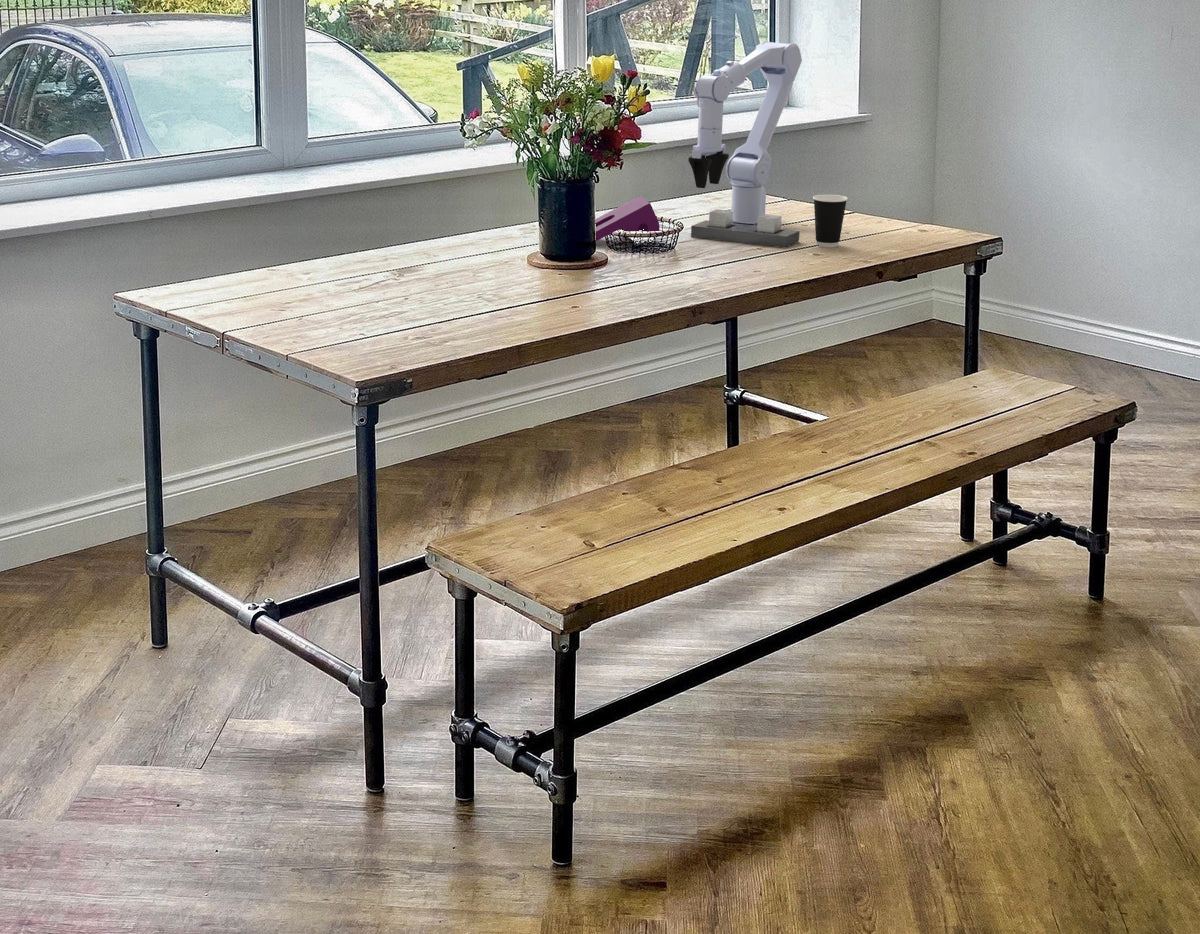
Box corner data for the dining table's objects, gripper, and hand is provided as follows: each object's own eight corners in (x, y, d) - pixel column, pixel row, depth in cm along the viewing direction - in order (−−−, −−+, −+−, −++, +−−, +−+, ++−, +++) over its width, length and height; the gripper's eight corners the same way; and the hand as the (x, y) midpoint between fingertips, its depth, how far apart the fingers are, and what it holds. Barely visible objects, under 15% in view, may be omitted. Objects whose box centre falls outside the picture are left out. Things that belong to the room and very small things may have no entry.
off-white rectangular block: (763, 239, 336) (764, 214, 334) (780, 241, 334) (781, 216, 332) (756, 242, 333) (757, 217, 330) (773, 244, 331) (774, 219, 328)
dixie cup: (851, 246, 330) (855, 198, 326) (826, 250, 325) (829, 201, 322) (828, 240, 336) (831, 193, 332) (802, 243, 332) (805, 196, 328)
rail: (705, 231, 345) (705, 220, 344) (798, 241, 334) (799, 230, 333) (691, 236, 338) (691, 225, 337) (785, 247, 327) (786, 236, 326)
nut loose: (715, 234, 341) (716, 209, 339) (732, 236, 340) (733, 210, 338) (708, 237, 338) (709, 212, 336) (724, 239, 336) (725, 213, 334)
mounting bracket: (596, 271, 330) (664, 235, 331) (580, 239, 326) (650, 202, 327) (587, 262, 338) (654, 227, 339) (571, 231, 335) (639, 195, 336)
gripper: (707, 123, 347) (705, 180, 351) (681, 129, 335) (679, 187, 340) (734, 126, 344) (731, 183, 348) (708, 131, 332) (706, 190, 336)
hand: (707, 185), depth 344 cm, fingers open, 7 cm apart
